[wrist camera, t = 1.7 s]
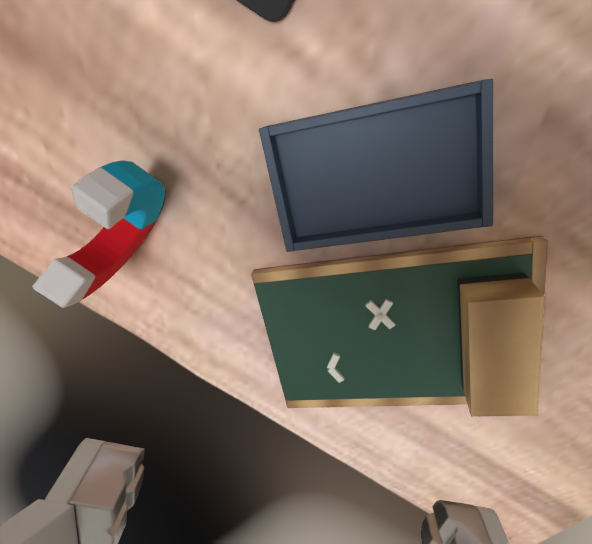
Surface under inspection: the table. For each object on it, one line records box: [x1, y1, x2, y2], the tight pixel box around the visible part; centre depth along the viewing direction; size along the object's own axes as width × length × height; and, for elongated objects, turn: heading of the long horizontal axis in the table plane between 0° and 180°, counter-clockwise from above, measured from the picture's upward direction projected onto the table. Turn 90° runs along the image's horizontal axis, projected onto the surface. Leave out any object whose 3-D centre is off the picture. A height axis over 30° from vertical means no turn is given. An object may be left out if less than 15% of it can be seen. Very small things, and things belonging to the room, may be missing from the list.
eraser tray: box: [259, 79, 493, 252], centre depth 29 cm, size 16×10×2 cm, turn 102°
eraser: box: [457, 273, 545, 416], centre depth 31 cm, size 5×11×4 cm, turn 12°
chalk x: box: [365, 298, 395, 330], centre depth 34 cm, size 2×3×1 cm
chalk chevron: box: [327, 352, 345, 383], centre depth 37 cm, size 2×3×1 cm, turn 12°
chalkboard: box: [251, 236, 547, 408], centre depth 35 cm, size 24×16×1 cm, turn 102°
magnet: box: [33, 161, 165, 307], centre depth 31 cm, size 12×3×10 cm, turn 145°
